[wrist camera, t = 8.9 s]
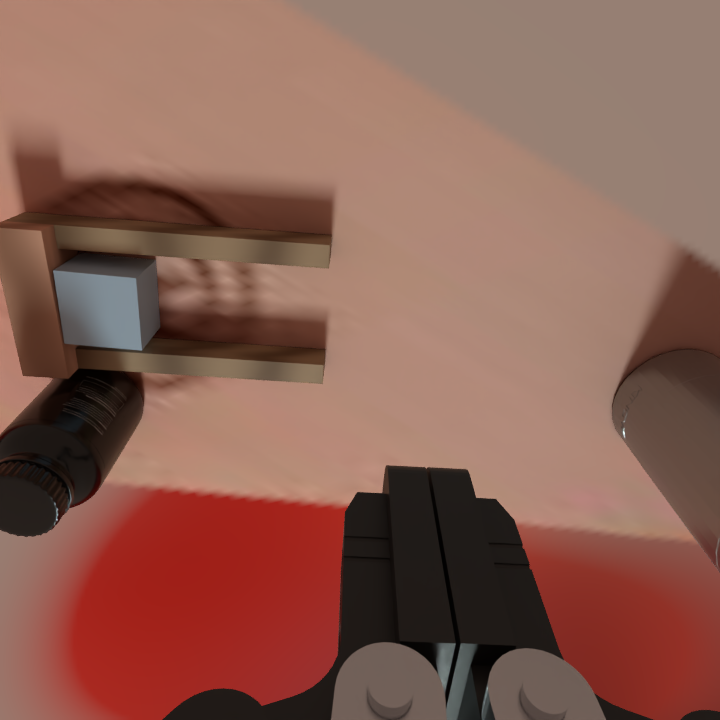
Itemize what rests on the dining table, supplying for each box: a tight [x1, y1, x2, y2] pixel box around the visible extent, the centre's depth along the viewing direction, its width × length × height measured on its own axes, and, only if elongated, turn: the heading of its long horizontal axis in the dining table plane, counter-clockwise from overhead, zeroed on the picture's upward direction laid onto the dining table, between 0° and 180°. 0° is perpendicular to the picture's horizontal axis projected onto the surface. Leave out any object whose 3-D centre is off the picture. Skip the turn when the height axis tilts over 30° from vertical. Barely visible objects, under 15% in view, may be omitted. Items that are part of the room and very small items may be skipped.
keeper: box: [53, 253, 160, 351], centre depth 37 cm, size 5×5×4 cm
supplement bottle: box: [0, 368, 143, 537], centre depth 37 cm, size 7×7×12 cm
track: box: [0, 212, 332, 384], centre depth 37 cm, size 20×10×4 cm, turn 86°
